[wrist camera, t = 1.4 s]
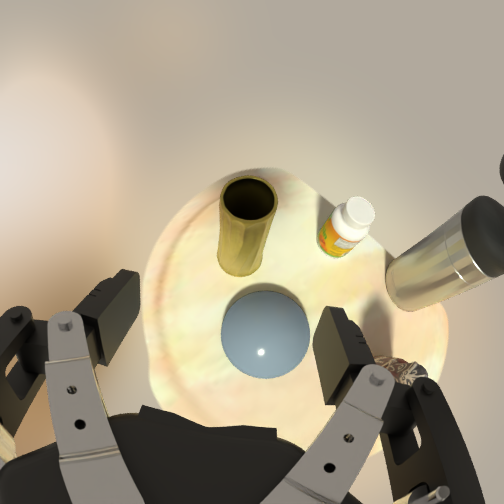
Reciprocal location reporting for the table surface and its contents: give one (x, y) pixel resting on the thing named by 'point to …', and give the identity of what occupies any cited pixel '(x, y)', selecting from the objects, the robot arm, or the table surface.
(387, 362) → the figurine
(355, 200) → the supplement bottle
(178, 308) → the table surface
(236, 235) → the vase
